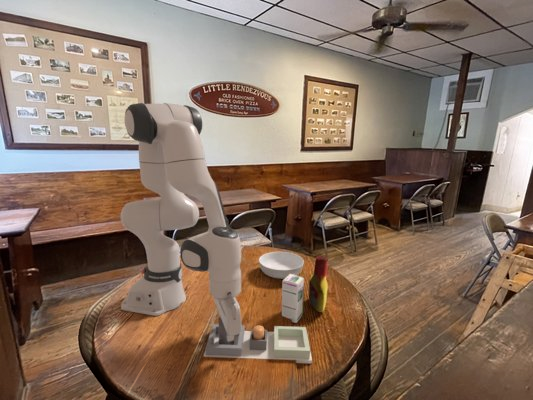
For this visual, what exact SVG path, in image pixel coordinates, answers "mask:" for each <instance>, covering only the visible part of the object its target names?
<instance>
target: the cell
mask: <svg viewBox="0 0 533 400" xmlns="http://www.w3.org/2000/svg"><path fill="white" fill-rule="evenodd" d="M217 320H218V324H219V344H221V345H233V344H234V340H233V341H227V338H226V333H227V332H226V330H225V327H224V324H223V322H222V319H221V317H219V316H218V319H217Z"/></svg>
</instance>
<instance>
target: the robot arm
mask: <svg viewBox="0 0 533 400" xmlns="http://www.w3.org/2000/svg"><path fill="white" fill-rule="evenodd" d="M124 127H125V129H126V132H127V134H128V136H129V137H131V139H133V140H134V141H137V142H138V161H139V173H140V181H141V184H142V186H144V187H145V189H147V190H148V191H152V192H153V193H156V194H158V196H160V197H161V199H141V200H135V201H131V202H127V203H126V204H125V205H124V206H123V207H122V209H121V211H120V221H121V224H122V226H123V227H124V228H125V229H126V230H127V231H129V232H130V233H133V234H134V235H135V236H136V237H138V239H139V240H140V242H141V243H142V244H143V246H144V248H145V253H146V254H145V255H146V259H147V264H146V266H145V267H144V268H143V270H141V273H140V275H141V277H140V278H139V279H137V280H135V282H134V283H133V284H132V285H131V286H130V288H129V290H128V294H127V296H126V297H124V298H123V300H122V302H121V304H120V310H122V311H124V312H130V313H131V312H132V313H137V314H142V315H143V314H144V315H147V316H148V315H149V316H155V317H158V316H161V315H163V314H164V313H166V312H169V311H171V310H175V309H177V308H179V307H180V306H181V304H182V303H185V302H186V299H187V295H186V293H185V290H184V286H183V281H182V278H183V267H182V264H183V266H184V267H186V268H187V269H189V270H191V271H193V272H199V273H200V272H203V273H204V272H208V282H209V283H208V284H209V289H208V290H209V294H210V295H211V296H212V298H213V301H214V303H215V306H216V309H217V312H218V318H219V317H221V319H222V322H223V324H224V327H225V330H226V332H227V333H226V338H227V341H233V340H234V335H237V334H240V333H241V330H242V328H241V325H242V311H241V307H240V304H239V302H238V300H237V296H238V295H240V293H241V291H242V271H241V268H240V267H241V262H242V245H241V238H240V235H239V233H238V232H237V230H235V229H233V228H232V227H231V226H230V225H229V223H228V222H229V221H228V219H227V218H228V217H227V214H226V212H225V208H224V205H223V201H222V197H221V193H220V191H219V188H218V185H217V183H216V182H215V180H213V178H212V176H211V174H210V172H209V170H208V165H207V163H206V161H207V160H206V155H205V151H204V147H203V142H202V140H201V137H200V134H201V132H202V131H203V119H202V116H201V114H200V112H199V111H198V109H197V108H195V107H193V106H189V105H186V104H185V105H184V104H183V105H179V104H177V103H176V104H174V103H167V102H163V103H143V102H140V103H139V102H138V103H133V104H130V105H128V106H127V108H126V109H125V112H124ZM187 195H188V196H192V197H194V198H195V199H197V200H198V201H200V203H201V204H202V207H203V211H204V214H205V216H206V221H207V224H208V230H207V231H204V232H202V233H199V234H197V235H194V236H191V237H190V238H189V237H188V238H187V239H185V240H184V241H183V242H182V243H181V246H180V245H179V244H178V242H177V241H176V240H175V239H173V238H171V237H169V236H166V235H165V234H163V232H162V231H174V230H175V231H179V230H184V229H188V228H191V227H195V225H196V224H197V223H198V221H199V217H200V209H199V207H198V205H197V203H195V201H193V200H192V199H190V198H189V197H188V196H187ZM181 262H182V263H181Z"/></svg>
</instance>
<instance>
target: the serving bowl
mask: <svg viewBox="0 0 533 400" xmlns="http://www.w3.org/2000/svg"><path fill="white" fill-rule="evenodd" d="M304 264H305V259H304V258H303V257H302V256H300V255H298V254H296V253H292V252H289V251H271V252H267V253H264V254H262V255H260V256H259V258H258V265H259V268H260V269H261V271H262V272H263V273H264V274H265V275H267V276H268V277H271V278H273V279H280V280H281V279H283V280H284V279H285V278H286V277H287V276H288V275H289V274H294V275H299V274H300V273H301V271H302V270H303V267H304Z"/></svg>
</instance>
